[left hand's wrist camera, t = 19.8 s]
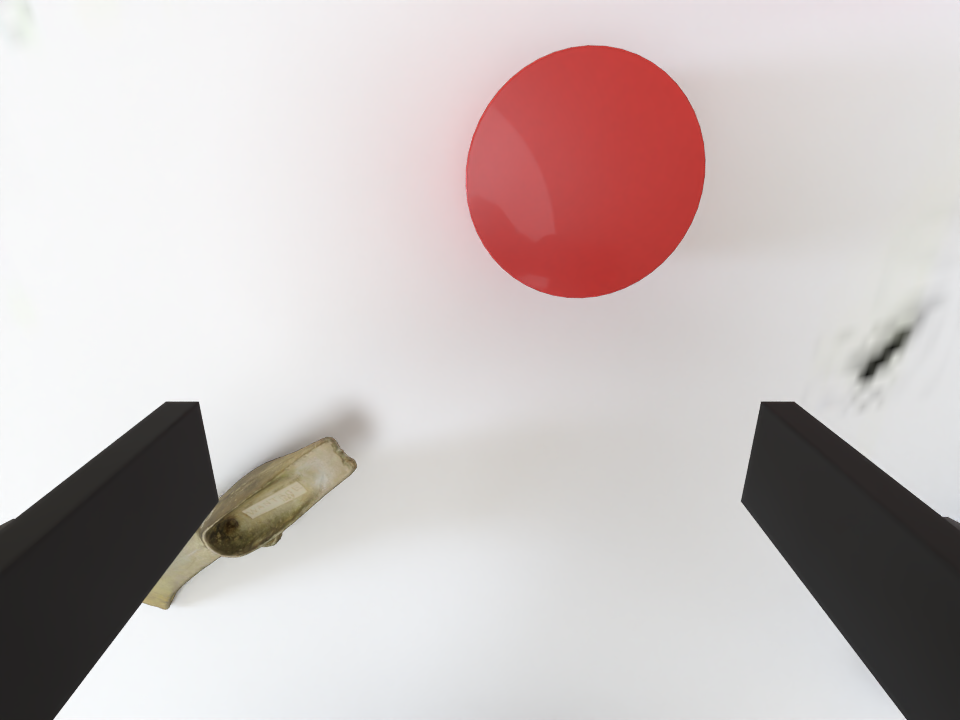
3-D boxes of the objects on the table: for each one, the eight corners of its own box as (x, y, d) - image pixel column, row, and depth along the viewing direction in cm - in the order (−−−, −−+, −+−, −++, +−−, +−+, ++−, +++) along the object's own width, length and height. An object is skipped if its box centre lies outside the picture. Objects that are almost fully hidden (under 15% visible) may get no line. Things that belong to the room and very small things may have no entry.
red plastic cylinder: (440, 213, 30) (425, 232, 21) (520, 49, 27) (541, -9, 18) (580, 288, 31) (621, 336, 22) (669, 139, 28) (755, 126, 20)
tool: (158, 603, 40) (116, 659, 36) (93, 544, 38) (41, 597, 34) (404, 480, 34) (389, 530, 30) (344, 404, 32) (319, 446, 28)
